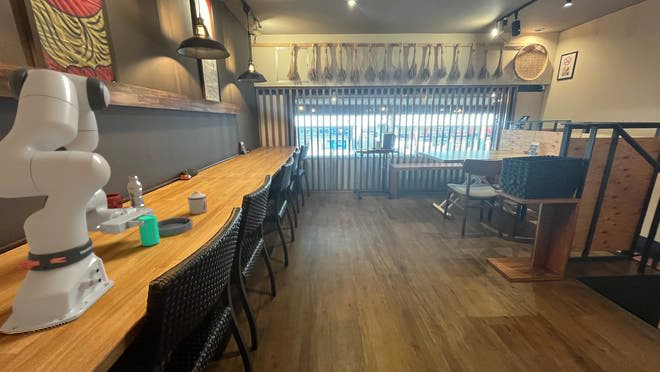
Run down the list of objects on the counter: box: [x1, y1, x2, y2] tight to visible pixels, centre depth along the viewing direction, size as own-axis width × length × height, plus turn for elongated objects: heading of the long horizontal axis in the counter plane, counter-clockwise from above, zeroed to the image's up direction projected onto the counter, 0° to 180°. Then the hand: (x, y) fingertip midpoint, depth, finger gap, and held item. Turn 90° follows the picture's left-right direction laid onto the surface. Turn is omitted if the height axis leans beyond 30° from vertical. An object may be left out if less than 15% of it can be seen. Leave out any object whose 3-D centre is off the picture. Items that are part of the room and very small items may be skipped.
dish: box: [157, 216, 194, 237], centre depth 117 cm, size 15×15×3 cm
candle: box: [138, 214, 161, 247], centre depth 101 cm, size 6×6×12 cm
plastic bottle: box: [126, 175, 147, 208], centre depth 137 cm, size 6×7×20 cm
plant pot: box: [106, 193, 124, 209], centre depth 129 cm, size 13×13×12 cm
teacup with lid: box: [187, 190, 208, 215], centre depth 141 cm, size 12×9×12 cm
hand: (150, 220), depth 100 cm, fingers closed on candle, 5 cm apart
